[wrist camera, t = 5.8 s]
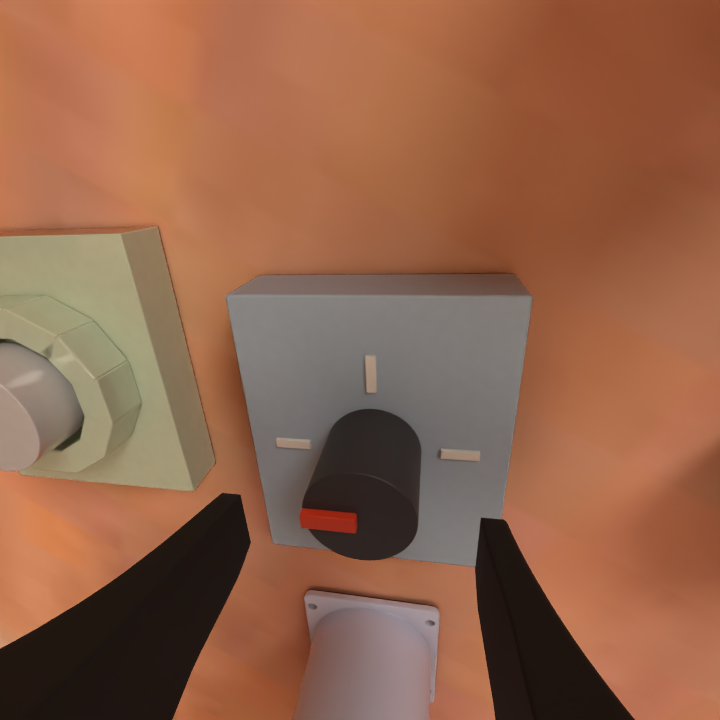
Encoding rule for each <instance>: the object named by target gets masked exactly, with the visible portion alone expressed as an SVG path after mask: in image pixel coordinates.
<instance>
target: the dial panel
mask: <svg viewBox="0 0 720 720" xmlns="http://www.w3.org/2000/svg"><path fill="white" fill-rule="evenodd" d="M532 300H533V297H532V295H531V294H530V292H529V291H528V290H527V289H526V287H525V286H524V285H523V284H522V282H521V281H520V280H519V278H518V277H517V276H516V275H515V274H369V275H259V276H257V277H256V278H254V279H252V280H251V281H249V282H247V283H246V284H244V285H242V286H240V287H239V288H237V289H235V290H234V291H232V292H230V293H229V294H227V295H226V301H227V306H228V312H229V317H230V322H231V327H232V333H233V338H234V343H235V348H236V353H237V359H238V364H239V369H240V374H241V380H242V385H243V390H244V395H245V401H246V406H247V411H248V416H249V421H250V427H251V432H252V437H253V442H254V448H255V453H256V458H257V463H258V469H259V474H260V479H261V484H262V489H263V495H264V500H265V505H266V510H267V516H268V521H269V526H270V531H271V537H272V542H273V544H279V545H288V546H296V547H305V548H314V549H322V550H330V549H328V548H327V547H325V546H324V545H323V544H321V543H320V542H319V541H318V540H317V539H316V538H315V537H314V536H313V535H312V534H311V532H310V531H309V529H307V528H301V523H300V516H299V514H300V512H301V509H302V502H303V498H304V495H305V493H306V490H307V488H308V485H309V483H310V480H311V478H312V475H313V473H314V470H315V468H316V465H317V463H318V460H319V458H320V455H321V453H322V450H323V448H324V445H325V443H326V440H327V438H328V436H329V433H330V431H331V429H332V427H333V426H334V424H335V423H336V422H337V421H338V420H339V419H340V418H342V417H343V416H345V415H346V414H348V413H351V412H353V411H357V410H362V409H378V410H383V411H387V412H390V413H392V414H394V415H396V416H398V417H400V418H401V419H403V420H404V421H405V422H407V423H408V424H409V425H410V426H411V427H412V429H413V430H414V431H415V433H416V434H417V436H418V438H419V441H420V444H421V452H422V454H421V475H420V497H419V518H418V530H417V533H416V536H415V538H414V540H413V541H412V542H411V544H410V545H409V546H408V547H407V548H406V549H405V550H403V551H402V552H401V553H399V554H397V555H395V556H392V558H401V559H409V560H418V561H427V562H435V563H444V564H453V565H461V566H470V567H475V566H476V557H477V548H478V539H479V530H480V521H481V517H482V518H492V519H502V512H503V505H504V498H505V490H506V483H507V476H508V469H509V462H510V455H511V448H512V441H513V434H514V427H515V420H516V413H517V406H518V399H519V392H520V385H521V378H522V371H523V363H524V356H525V349H526V342H527V335H528V328H529V321H530V314H531V307H532ZM331 551H332V550H331Z"/></svg>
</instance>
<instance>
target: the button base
mask: <svg viewBox="0 0 720 720" xmlns="http://www.w3.org/2000/svg"><path fill="white" fill-rule="evenodd" d="M0 342H12V343H18V344H22V345H23V346H25V347H27V348H29V349H31V350H33V351H35V352H37V353H39V354H41V355H43V356H45V357H46V358H47V359H48V360H49V361H50V362H51V363H52V364H53V365H54V366H55V367H56V368H57V369H58V370H59V372H60V373H61V374H62V375H63V376H64V377H65V378H66V379H67V380H68V381H69V382H70V383H71V384H72V386H73V389H74V391H75V394H76V396H77V399H78V401H79V404H80V406H81V409H82V411H83V420H82V424H81V426H80V428H79V430H78V431H77V432H76V433H75V434H74V435H73V436H72V437H70V438H69V439H67V440H66V441H65V442H63V443H62V444H61V445H59V446H58V447H56V448H55V449H54V450H52V451H51V452H50V453H48V454H47V455H45V456H44V457H43V458H41V459H40V460H39V461H37V462H36V463H34V464H33V465H32V466H30V467H28V468H26V469H24V470H20V471H18V472H19V473H20V475H23V476H34V477H45V478H55V479H66V480H76V481H87V482H97V483H108V484H118V485H129V486H139V487H150V488H160V489H171V490H181V491H192V492H193V491H195V489H196V488H197V487H198V485H199V484H200V483H201V481H202V480H203V479H204V477H205V476H206V475H207V473H208V472H209V471H210V470H211V468H212V467H213V466H214V464H215V463H216V461H215V457H214V453H213V449H212V445H211V441H210V437H209V433H208V429H207V425H206V421H205V417H204V413H203V408H202V404H201V400H200V396H199V392H198V388H197V384H196V380H195V376H194V372H193V368H192V364H191V360H190V356H189V352H188V348H187V343H186V339H185V335H184V331H183V327H182V323H181V319H180V315H179V311H178V307H177V303H176V299H175V295H174V291H173V287H172V282H171V278H170V274H169V270H168V266H167V262H166V258H165V254H164V250H163V246H162V242H161V238H160V234H159V230H158V227H157V226H147V227H114V228H80V229H46V230H13V231H0Z"/></svg>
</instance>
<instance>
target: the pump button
mask: <svg viewBox="0 0 720 720" xmlns="http://www.w3.org/2000/svg"><path fill="white" fill-rule="evenodd" d="M82 420H83V411H82V409H81V406H80V404H79V401H78V399H77V396H76V394H75V391H74V389H73V386H72V384H71V383H70V382H69V381H68V380H67V379H66V378H65V377H64V376H63V375H62V374H61V373H60V372H59V370H58V369H57V368H56V367H55V366H54V365H53V364H52V363H51V362H50V361H49V360H48V359H47V358H46V357H45V356H43V355H41V354H39V353H37V352H35V351H33V350H31V349H29V348H27V347H25V346H23V345H22V344H18V343H12V342H0V470H3V471H20V470H24V469H26V468H28V467H30V466H32V465H33V464H34V463H36V462H37V461H39V460H40V459H41V458H43V457H44V456H45V455H47V454H48V453H50V452H51V451H52V450H54V449H55V448H56V447H58V446H59V445H61V444H62V443H63V442H65V441H66V440H67V439H69V438H70V437H72V436H73V435H74V434H75V433H76V432H77V431H78V430H79V428H80V426H81V424H82Z"/></svg>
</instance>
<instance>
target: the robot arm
mask: <svg viewBox="0 0 720 720" xmlns="http://www.w3.org/2000/svg"><path fill="white" fill-rule="evenodd" d="M250 543H251V541H250V537H249V532H248V528H247V523H246V518H245V514H244V509H243V505H242V500H241V496H240V495H238V494H227V493H222V494H220V495H219V496H218V497H217V498H216V499H214V500H213V501H212V502H211V503H210V504H208V505H207V506H206V507H205V508H204V509H203V510H201V511H200V512H199V513H198V514H197V515H195V516H194V517H193V518H192V519H191V520H190V521H188V522H187V523H186V524H185V525H184V526H182V527H181V528H180V529H179V530H178V531H176V532H175V533H174V534H173V535H172V536H170V537H169V538H168V539H167V540H166V541H164V542H163V543H162V544H161V545H159V546H158V547H157V548H156V549H154V550H153V551H152V552H150V553H149V554H148V555H146V556H145V557H144V558H143V559H141V560H140V561H139V562H137V563H136V564H135V565H133V566H132V567H131V568H130V569H128V570H127V571H126V572H124V573H123V574H121V575H120V576H119V577H117V578H116V579H114V580H113V581H112V582H110V583H109V584H107V585H106V586H104V587H103V588H101V589H100V590H98V591H97V592H95V593H94V594H92V595H91V596H89V597H88V598H86V599H85V600H83V601H82V602H80V603H79V604H77V605H75V606H74V607H72V608H70V609H69V610H67V611H65V612H64V613H62V614H60V615H59V616H57V617H56V618H54V619H52V620H51V621H49V622H47V623H46V624H44V625H42V626H41V627H39V628H37V629H35V630H34V631H32V632H30V633H28V634H26V635H25V636H23V637H21V638H19V639H17V640H16V641H14V642H12V643H10V644H8V645H6V646H4V647H3V648H1V649H0V720H172V719H173V716H174V714H175V711H176V709H177V706H178V704H179V701H180V699H181V696H182V694H183V691H184V689H185V686H186V684H187V681H188V679H189V677H190V674H191V672H192V669H193V667H194V665H195V663H196V661H197V659H198V656H199V654H200V652H201V650H202V648H203V646H204V644H205V642H206V640H207V638H208V636H209V634H210V632H211V630H212V628H213V626H214V624H215V622H216V620H217V619H218V617H219V615H220V613H221V611H222V609H223V607H224V605H225V603H226V601H227V599H228V597H229V595H230V593H231V591H232V589H233V586H234V584H235V582H236V580H237V578H238V576H239V574H240V571H241V568H242V566H243V563H244V560H245V557H246V555H247V552H248V549H249V546H250ZM475 573H476V589H477V603H478V612H479V618H480V624H481V631H482V637H483V643H484V649H485V655H486V661H487V667H488V673H489V679H490V685H491V691H492V697H493V703H494V711H495V719H496V720H635V719H634V718H633V717H632V716H631V714H630V713H629V712H628V711H627V710H626V708H625V707H624V706H623V705H622V703H621V702H620V701H619V699H618V698H617V697H616V696H615V694H614V693H613V692H612V690H611V689H610V688H609V687H608V685H607V684H606V683H605V681H604V680H603V679H602V677H601V676H600V675H599V673H598V672H597V671H596V669H595V668H594V667H593V665H592V664H591V663H590V661H589V660H588V659H587V657H586V656H585V654H584V653H583V651H582V650H581V649H580V647H579V646H578V644H577V643H576V641H575V640H574V639H573V637H572V636H571V634H570V633H569V631H568V630H567V628H566V627H565V625H564V624H563V622H562V621H561V619H560V618H559V616H558V615H557V613H556V611H555V610H554V608H553V607H552V605H551V603H550V602H549V600H548V599H547V597H546V595H545V593H544V592H543V590H542V588H541V587H540V585H539V583H538V582H537V580H536V578H535V577H534V575H533V573H532V571H531V570H530V568H529V566H528V564H527V562H526V560H525V559H524V557H523V555H522V553H521V551H520V549H519V547H518V545H517V543H516V541H515V539H514V537H513V535H512V533H511V530H510V528H509V526H508V524H507V522H506V521H505V520H503V519H492V518H482V517H481V521H480V530H479V539H478V548H477V557H476V566H475ZM304 602H305V609H306V615H307V621H308V628H309V634H310V640H311V650H310V653H309V657H308V661H307V665H306V669H305V673H304V677H303V680H302V684H301V688H300V692H299V696H298V700H297V703H296V707H295V711H294V715H293V719H292V720H430V703H432V702H434V697H435V680H436V664H437V648H438V632H439V610H438V609H437V608H435V607H433V606H429V605H421V604H414V603H406V602H399V601H391V600H384V599H376V598H369V597H361V596H354V595H346V594H339V593H331V592H324V591H316V590H309V591H307V592H306V594H305V597H304Z"/></svg>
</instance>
